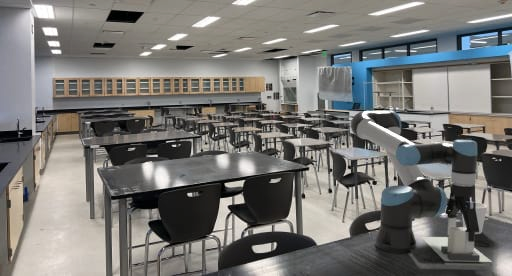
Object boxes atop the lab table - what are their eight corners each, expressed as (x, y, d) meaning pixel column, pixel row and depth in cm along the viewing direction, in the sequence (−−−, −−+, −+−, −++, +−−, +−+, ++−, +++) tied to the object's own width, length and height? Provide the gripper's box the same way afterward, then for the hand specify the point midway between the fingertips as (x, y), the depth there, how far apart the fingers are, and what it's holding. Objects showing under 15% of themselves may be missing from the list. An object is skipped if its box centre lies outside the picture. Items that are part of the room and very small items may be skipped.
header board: (444, 265, 132) (445, 255, 132) (420, 240, 155) (421, 232, 154) (492, 266, 131) (492, 256, 130) (461, 240, 154) (461, 232, 153)
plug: (450, 258, 134) (451, 230, 133) (445, 253, 138) (447, 227, 137) (474, 258, 133) (476, 231, 132) (469, 253, 137) (470, 227, 136)
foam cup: (487, 234, 161) (489, 204, 159) (482, 240, 154) (484, 209, 152) (463, 229, 167) (464, 200, 166) (456, 234, 160) (458, 205, 159)
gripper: (493, 193, 120) (489, 257, 123) (457, 176, 145) (454, 229, 147) (469, 193, 121) (465, 256, 123) (437, 176, 146) (435, 229, 148)
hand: (459, 242), depth 135 cm, fingers open, 13 cm apart
